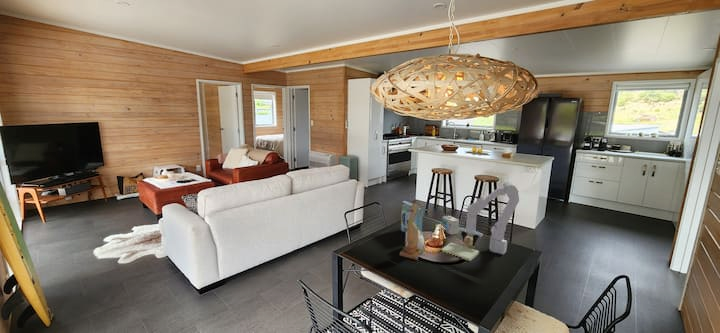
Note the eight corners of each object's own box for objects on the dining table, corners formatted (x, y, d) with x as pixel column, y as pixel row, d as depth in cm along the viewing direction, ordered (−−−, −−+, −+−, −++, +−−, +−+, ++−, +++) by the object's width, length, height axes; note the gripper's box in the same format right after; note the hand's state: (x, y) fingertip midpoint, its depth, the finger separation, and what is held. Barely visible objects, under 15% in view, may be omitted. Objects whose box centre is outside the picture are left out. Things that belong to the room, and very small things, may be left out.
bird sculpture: (403, 249, 183) (406, 198, 178) (423, 252, 179) (426, 201, 174) (399, 256, 173) (401, 203, 168) (419, 260, 168) (422, 206, 163)
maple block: (474, 246, 190) (475, 238, 189) (471, 249, 186) (472, 240, 185) (466, 244, 193) (467, 235, 192) (463, 247, 189) (464, 238, 188)
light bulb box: (441, 230, 217) (442, 216, 215) (448, 229, 220) (449, 215, 218) (451, 235, 207) (452, 221, 206) (458, 234, 210) (459, 219, 209)
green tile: (478, 253, 181) (479, 251, 180) (470, 261, 170) (470, 258, 170) (450, 244, 192) (451, 242, 192) (440, 251, 182) (441, 249, 182)
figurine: (426, 250, 183) (428, 227, 181) (418, 256, 174) (419, 232, 172) (410, 245, 190) (411, 222, 187) (401, 251, 181) (402, 227, 179)
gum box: (421, 241, 196) (423, 208, 192) (414, 242, 194) (416, 209, 191) (406, 231, 214) (407, 200, 210) (400, 232, 212) (401, 201, 208)
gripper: (485, 225, 185) (483, 246, 188) (462, 219, 195) (460, 239, 197) (481, 228, 180) (479, 249, 182) (457, 222, 190) (456, 242, 192)
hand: (469, 244), depth 189 cm, fingers closed on maple block, 5 cm apart
